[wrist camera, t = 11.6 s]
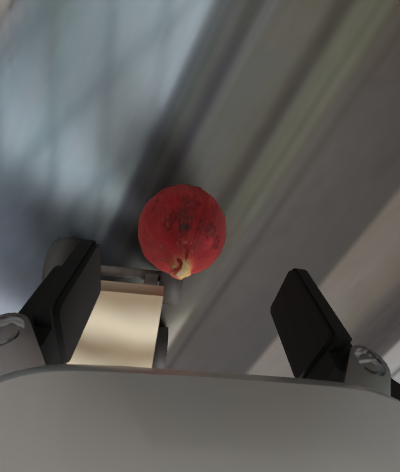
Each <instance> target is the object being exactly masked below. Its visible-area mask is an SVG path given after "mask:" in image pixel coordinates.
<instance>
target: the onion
mask: <svg viewBox="0 0 400 472" xmlns="http://www.w3.org/2000/svg"><path fill="white" fill-rule="evenodd" d="M138 239H139V243H140V246H141V248H142V251H143V254H144V256H145V258H146V259H147V260H148V261H149V262H150V263H152V264H153V265H154V266H155V267H156V268H157V269H159V270H161V271H163V272H166V273H169V274H170V275H171V276H172V277H174V278H176V279H179V280H181V279H183V278H185V277H187V276H190V274H195V273H198V272H200V271H202V270H204V269H206V268H208V267H209V266H210V265H211V264H212V263H213V262H214V261H215V260H216V259H217V258H218V256H219V255H220V254H221V252H222V248H223V245H224V242H225V239H226V225H225V215H224V214H223V212H222V210H221V209H220V207H219V205H218V203H217V202H216V200H215V199H214V198H213V197H212V196H211V195H209V194H208V193H207V192H205V191H204V190H203V189H201V188H200V187H195V186H190V185H185V184H179V185H175V186H170V187H166V188H163V189H162V190H161V191H160V192H159V193H157V194H156V195H155V196H154V197H152V198H151V199H150V200H149V201H148V202H147V203H146V205H145V207H144V209H143V211H142V213H141V215H140V217H139V221H138Z"/></svg>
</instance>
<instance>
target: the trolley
mask: <svg viewBox="0 0 400 472" xmlns="http://www.w3.org/2000/svg"><path fill="white" fill-rule="evenodd" d="M79 242H80V240H78V239H70V238H58V239H57V240H55V241H54V243H53V244H52V245H51V247H50V249H49V251H48V253H47V256H46V259H45V263H44V268H43V281H44V279H45V278H46V277H47V275H48V274H49V273H50V272H51V270H52V269H53V268H54V267H55V266H57V265H60V266H62V265H63V263H64V262H65V261H66V259H67V258H68V257H69V255H70V254H71V253H72V251H73V250H74V248H75V247H76V246H77V244H78V243H79ZM101 275H105V276H115V277H125V278H135V279H145V281H144V284H136V283H125V282H115V281H105V280H101V291H100V295H99V297H98V299H97V302H96V304H95V306H94V308H93V311H92V313H91V315H90V317H89V320H88V322H87V324H86V326H85V329H84V331H83V333H82V335H81V338H80V340H79V342H78V344H77V347H76V349H75V351H74V353H73V356H72V358H71V360H70V361H69V362H68V363H66V362H65V363H64V364H89V365H110V366H130V367H145V368H161V369H165V363H166V355H167V345H168V327H158V326H159V320H160V314H161V308H162V304H169V305H178V302H179V299H180V294H181V287H182V280H183V279H181V280H179V279H176V278H174V277H172V276H171V275H170V274H169V273H166V272H163V271H154V270H144V269H135V268H125V267H116V266H107V265H101ZM158 281H160V282H159V286H157V283H158Z"/></svg>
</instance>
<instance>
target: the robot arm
mask: <svg viewBox="0 0 400 472" xmlns="http://www.w3.org/2000/svg"><path fill="white" fill-rule="evenodd" d="M100 291H101V262H100V245H99V244H96V241H93V240H86V239H81V240H80V242H79V243H78V244H77V246H76V247H75V248H74V250H73V251H72V253H71V254H70V255H69V257H68V258H67V259H66V261H65V262H64V263H63V265H62V266H60V265H57V266H55V267H54V268H53V269H52V270H51V272H50V273H49V274H48V275H47V277H46V278H45V279H44V281H43V282H42V283H41V284H40V286H39V287H38V288H37V290H36V291H35V292H34V293H33V295H32V296H31V297H30V299H29V300H28V301H27V302H26V304H25V305H24V306H23V308H22V309H21V310H20V311H19V313H6V314H2V315H0V472H400V384H399V383H397V382H396V381H394V380H393V379H392V378H391V374H390V369H389V367H388V366H387V364H386V363H385V361H384V360H383V359H382V358H381V357H380V356H379V355H378V354H377V353H375V352H374V351H372V350H371V349H369V348H367V347H365V346H362V345H354V346H352V345H351V343H350V342H351V340H352V338H351V337H350V335H349V334H348V332H347V331H346V329H345V328H344V326H343V325H342V323H341V322H340V320H339V319H338V317H337V316H336V314H335V313H334V311H333V310H332V308H331V307H330V305H329V304H328V302H327V301H326V299H325V298H324V296H323V295H322V293H321V292H320V290H319V289H318V287H317V285H316V284H315V282H314V281H313V279H312V278H311V276H310V275H309V273H308V272H307V271H306V270H303V269H296V268H294V269H292V271H289V272H288V274H287V276H286V278H285V280H284V282H283V284H282V286H281V288H280V290H279V292H278V294H277V296H276V298H275V300H274V302H273V304H272V306H271V315H272V318H273V320H274V323H275V326H276V329H277V331H278V334H279V337H280V339H281V342H282V345H283V347H284V350H285V353H286V355H287V358H288V361H289V363H290V366H291V369H292V372H293V374H294V376H295V378H288V377H275V376H262V375H249V374H234V373H220V372H206V371H191V370H176V369H161V368H145V367H130V366H110V365H89V364H64V363H65V362H66V363H68V362H69V361H70V360H71V358H72V356H73V353H74V351H75V349H76V347H77V344H78V342H79V340H80V338H81V335H82V333H83V331H84V329H85V326H86V324H87V322H88V320H89V317H90V315H91V313H92V311H93V308H94V306H95V304H96V302H97V299H98V297H99V295H100Z"/></svg>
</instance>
